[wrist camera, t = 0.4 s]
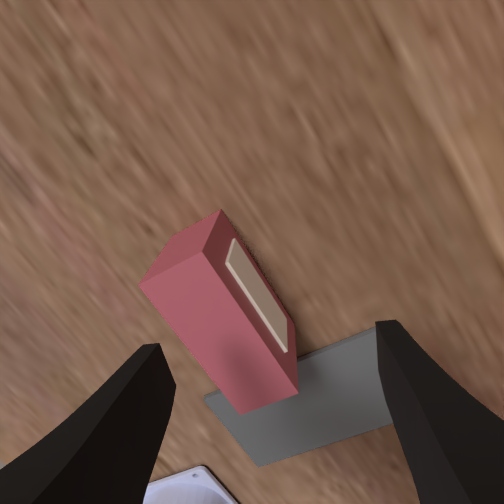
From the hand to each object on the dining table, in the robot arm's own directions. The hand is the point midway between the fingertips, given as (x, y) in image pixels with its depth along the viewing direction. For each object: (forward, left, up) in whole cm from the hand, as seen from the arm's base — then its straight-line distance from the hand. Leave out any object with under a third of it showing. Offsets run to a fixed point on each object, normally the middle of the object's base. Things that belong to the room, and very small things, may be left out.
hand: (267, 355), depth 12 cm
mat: (-3, -13, -10) cm, 17 cm away
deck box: (-3, -2, -11) cm, 11 cm away
